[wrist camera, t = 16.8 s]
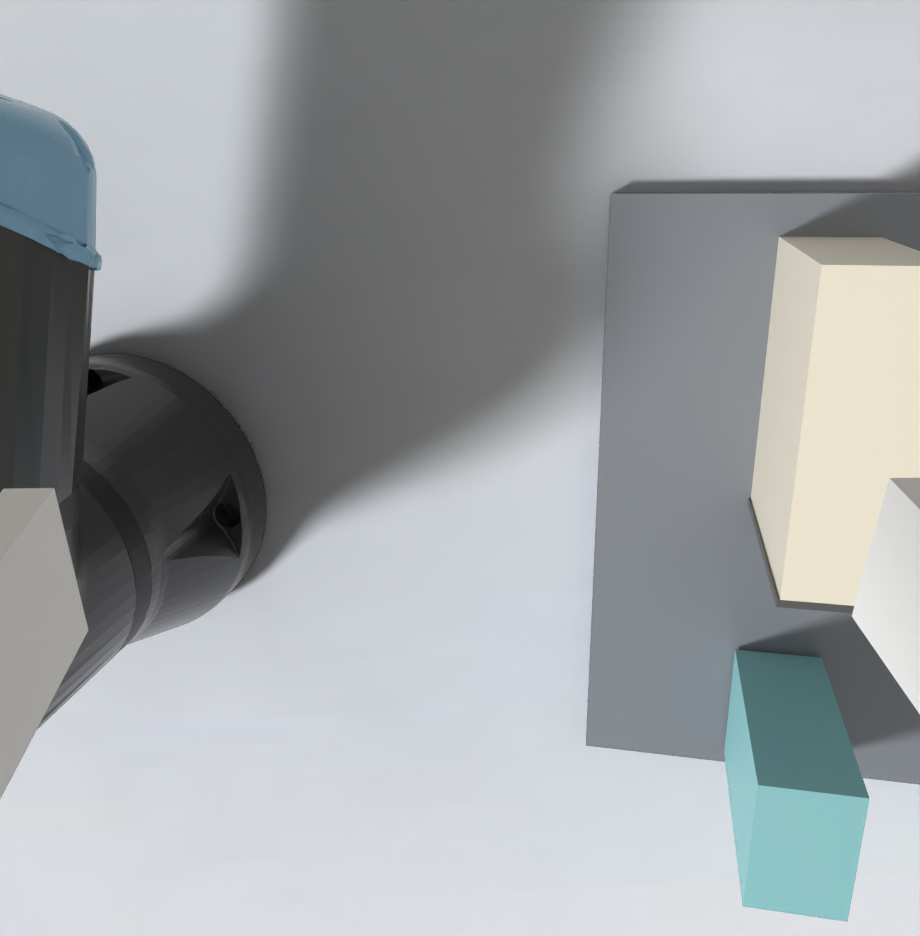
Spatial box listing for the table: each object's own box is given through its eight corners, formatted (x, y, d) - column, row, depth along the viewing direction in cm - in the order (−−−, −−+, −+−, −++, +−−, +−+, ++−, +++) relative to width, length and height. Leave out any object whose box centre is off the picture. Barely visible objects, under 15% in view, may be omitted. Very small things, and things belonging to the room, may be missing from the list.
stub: (806, 761, 44) (847, 921, 35) (724, 751, 45) (742, 906, 36) (821, 657, 42) (869, 798, 33) (735, 649, 43) (757, 785, 34)
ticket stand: (948, 775, 44) (1036, 960, 34) (587, 733, 48) (569, 890, 38) (1071, 191, 35) (1243, 208, 25) (611, 193, 38) (597, 207, 28)
